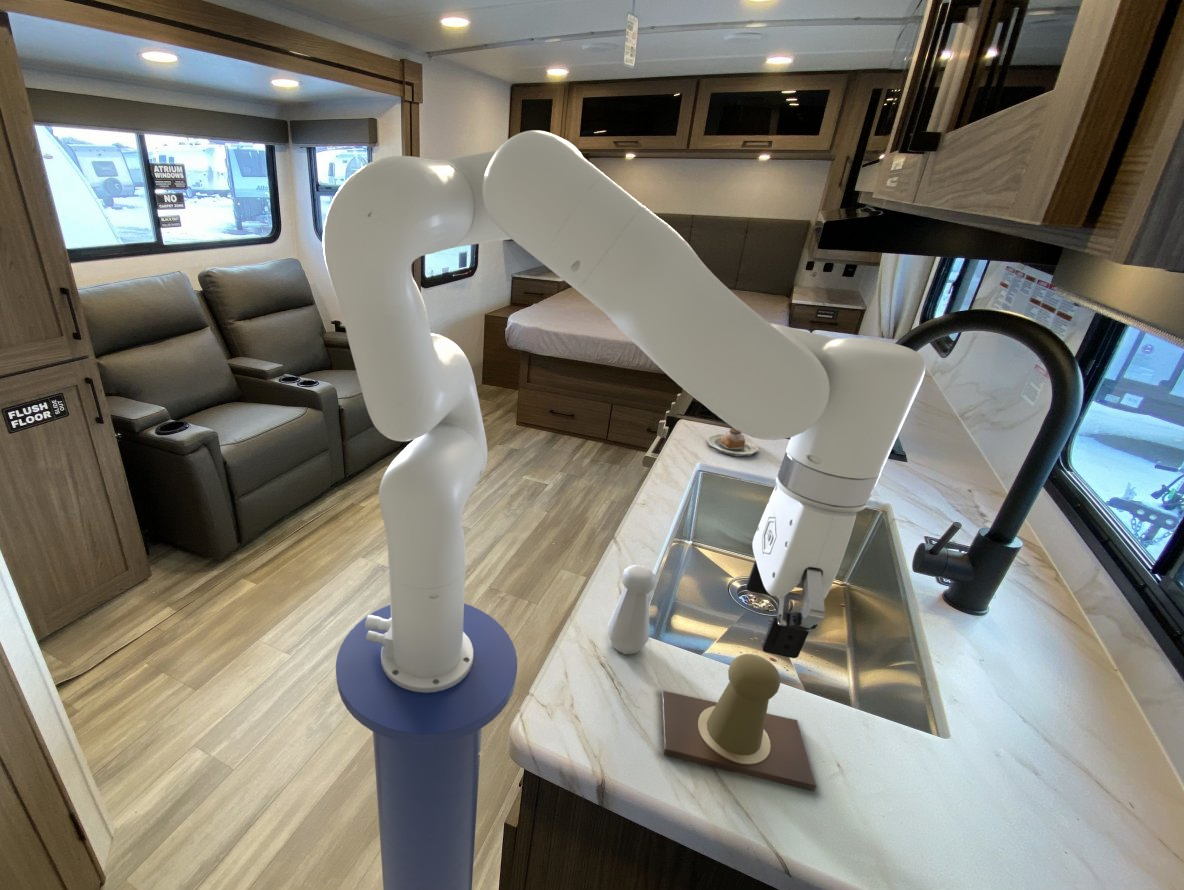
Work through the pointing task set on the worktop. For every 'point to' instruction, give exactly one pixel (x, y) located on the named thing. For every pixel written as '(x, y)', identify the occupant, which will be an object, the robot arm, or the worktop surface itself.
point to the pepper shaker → (744, 705)
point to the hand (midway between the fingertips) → (769, 620)
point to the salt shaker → (632, 611)
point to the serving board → (773, 761)
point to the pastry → (733, 443)
